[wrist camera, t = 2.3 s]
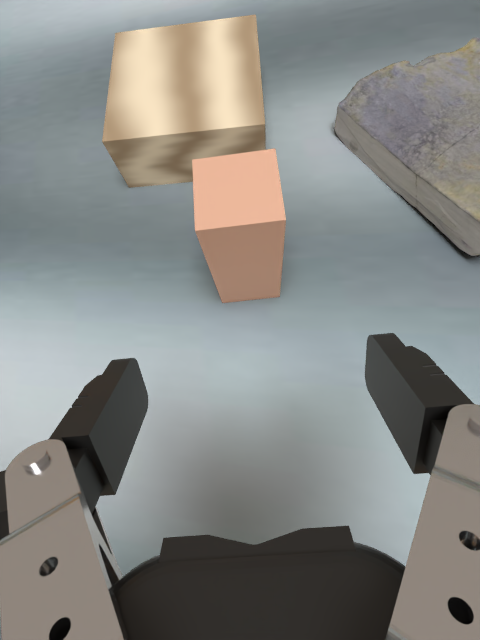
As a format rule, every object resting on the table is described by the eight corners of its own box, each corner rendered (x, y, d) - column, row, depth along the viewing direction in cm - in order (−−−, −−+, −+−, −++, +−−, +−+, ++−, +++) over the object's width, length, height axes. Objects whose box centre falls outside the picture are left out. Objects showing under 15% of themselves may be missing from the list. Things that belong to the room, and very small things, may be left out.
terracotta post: (222, 303, 28) (195, 230, 18) (219, 252, 30) (192, 159, 19) (279, 296, 28) (286, 219, 18) (273, 246, 30) (275, 148, 19)
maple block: (130, 189, 33) (102, 141, 28) (138, 92, 38) (115, 32, 32) (265, 177, 32) (265, 124, 27) (257, 77, 37) (255, 14, 31)
